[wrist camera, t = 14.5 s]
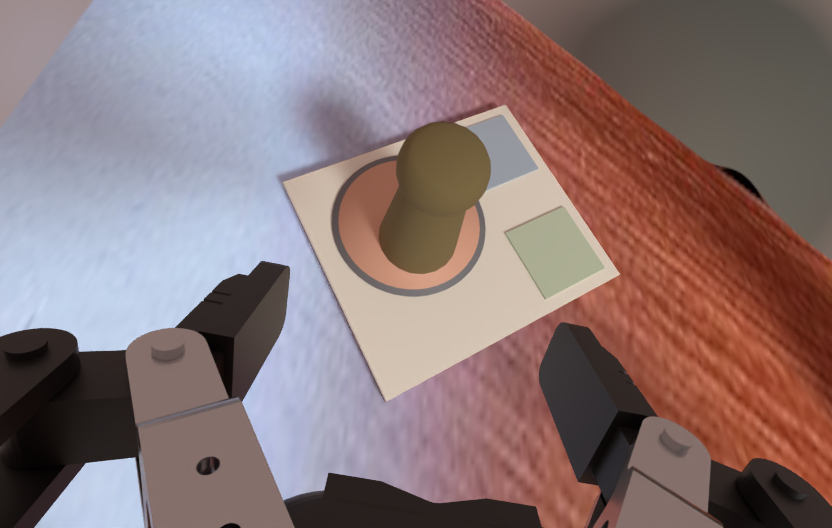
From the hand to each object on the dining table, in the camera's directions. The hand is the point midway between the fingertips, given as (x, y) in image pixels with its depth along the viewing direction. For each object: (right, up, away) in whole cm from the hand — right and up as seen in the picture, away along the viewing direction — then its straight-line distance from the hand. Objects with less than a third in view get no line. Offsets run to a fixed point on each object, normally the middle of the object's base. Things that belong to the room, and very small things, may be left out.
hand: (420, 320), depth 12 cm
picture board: (+3, +4, +21) cm, 21 cm away
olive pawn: (0, +4, +19) cm, 19 cm away
